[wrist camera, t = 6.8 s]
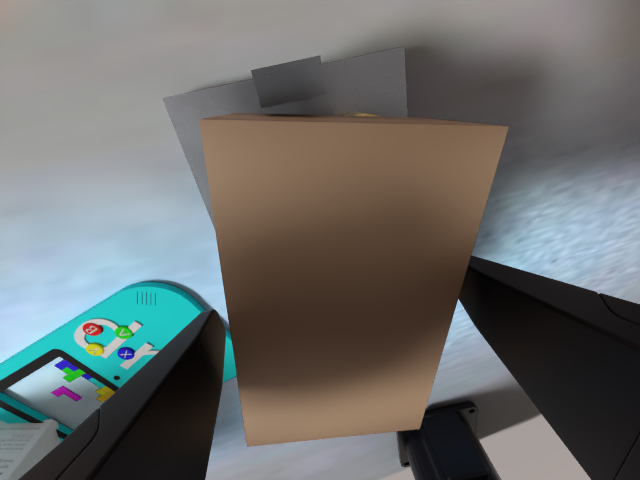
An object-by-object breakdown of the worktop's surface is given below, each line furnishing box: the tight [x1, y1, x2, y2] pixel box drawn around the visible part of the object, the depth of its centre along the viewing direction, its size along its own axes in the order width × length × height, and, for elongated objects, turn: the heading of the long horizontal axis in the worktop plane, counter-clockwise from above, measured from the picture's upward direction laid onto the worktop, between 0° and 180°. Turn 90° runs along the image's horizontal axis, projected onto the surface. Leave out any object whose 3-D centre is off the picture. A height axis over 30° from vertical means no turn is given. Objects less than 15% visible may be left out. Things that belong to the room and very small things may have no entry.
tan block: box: [199, 113, 509, 447], centre depth 9 cm, size 10×6×4 cm, turn 178°
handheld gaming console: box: [0, 282, 237, 442], centre depth 17 cm, size 8×1×15 cm
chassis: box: [163, 46, 408, 228], centre depth 12 cm, size 13×9×6 cm
